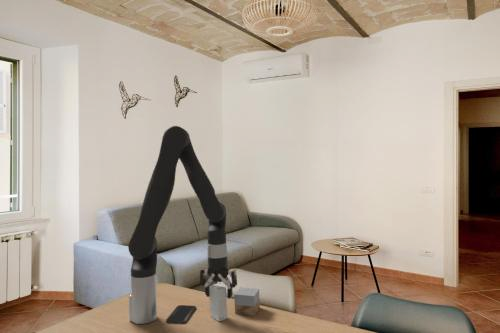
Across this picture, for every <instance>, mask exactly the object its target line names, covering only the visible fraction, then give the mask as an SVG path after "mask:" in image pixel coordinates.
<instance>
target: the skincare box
mask: <svg viewBox="0 0 500 333" xmlns="http://www.w3.org/2000/svg"><path fill="white" fill-rule="evenodd" d="M208 298H209V315H210V317H211V318H212V319H214V320H216V321H217V322H221V321H225V320H227V319H228V304H227V299H228V298H227V286H224V285H221V284H219V283H215V284H210V285H209V297H208Z"/></svg>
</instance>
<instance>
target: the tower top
mask: <svg viewBox="0 0 500 333" xmlns="http://www.w3.org/2000/svg"><path fill="white" fill-rule="evenodd" d="M259 299H260V289H259V288H254V287H253V288H250V287H242V286H241V287H240V288H238V290H237V291H235V293H234V306H235V305H244V306H255V305H256V303H257V302H258V300H259Z"/></svg>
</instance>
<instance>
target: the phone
mask: <svg viewBox="0 0 500 333" xmlns="http://www.w3.org/2000/svg"><path fill="white" fill-rule="evenodd" d="M196 309H197V306H195V305H186V304H185V305H183V304H180V305H177V306H176V307H175V308H174V310H173V311H172V312H171V313H170V314H169V315H168V317H167V318H166V319H165V323H166V324H174V323H175V324H180V325H181V324H182V325H184V324H187V322H188V320H189V319H190V317H191V316H192V315H193V313H195V312H196Z"/></svg>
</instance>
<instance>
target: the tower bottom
mask: <svg viewBox="0 0 500 333" xmlns="http://www.w3.org/2000/svg"><path fill="white" fill-rule="evenodd" d="M260 299H261V298H259V300H258V302H257V303H256V305H255V306H244V305H235V304H234V314H235V315H242V316H243V315H245V316H251V315H254V316H256V315H257V313H258V311H259V310H260V308H261V305H260V304H261V301H260ZM258 309H259V310H258ZM255 314H256V315H255ZM254 316H253V317H254Z"/></svg>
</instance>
